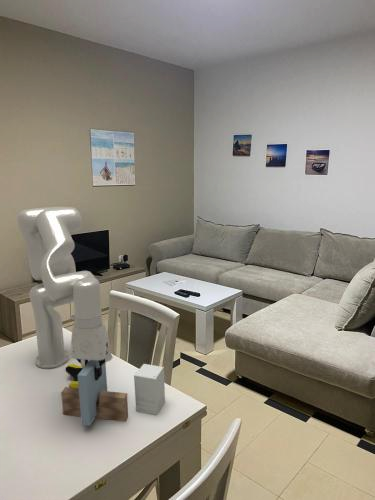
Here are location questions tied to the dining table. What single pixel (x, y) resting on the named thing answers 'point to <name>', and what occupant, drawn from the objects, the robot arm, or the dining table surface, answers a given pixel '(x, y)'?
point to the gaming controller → (73, 374)
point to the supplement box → (149, 389)
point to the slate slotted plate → (90, 391)
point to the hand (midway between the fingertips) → (93, 377)
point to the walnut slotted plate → (97, 404)
